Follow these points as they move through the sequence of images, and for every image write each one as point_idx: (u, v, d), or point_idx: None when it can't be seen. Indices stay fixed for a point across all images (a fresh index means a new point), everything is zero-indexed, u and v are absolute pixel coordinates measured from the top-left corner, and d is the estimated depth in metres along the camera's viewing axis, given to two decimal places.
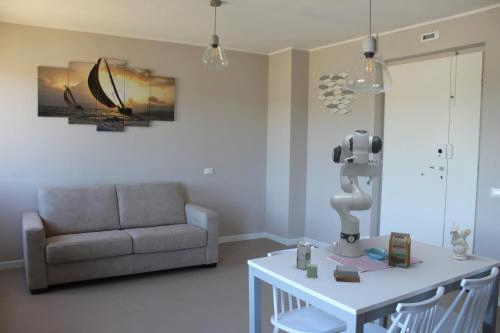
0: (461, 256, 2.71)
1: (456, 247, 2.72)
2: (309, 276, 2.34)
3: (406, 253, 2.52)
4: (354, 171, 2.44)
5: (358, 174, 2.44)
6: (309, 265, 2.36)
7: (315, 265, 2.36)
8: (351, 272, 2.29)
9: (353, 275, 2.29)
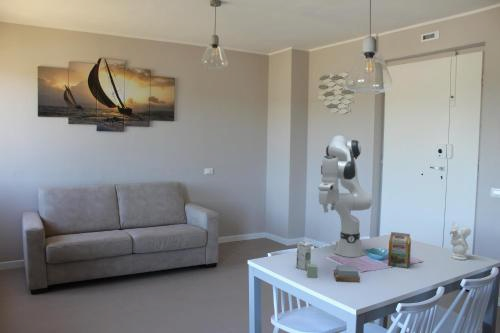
0: (461, 256, 2.71)
1: (456, 247, 2.72)
2: (309, 276, 2.34)
3: (406, 253, 2.52)
4: (330, 198, 2.35)
5: (332, 201, 2.37)
6: (309, 265, 2.36)
7: (315, 265, 2.36)
8: (351, 272, 2.29)
9: (353, 275, 2.29)
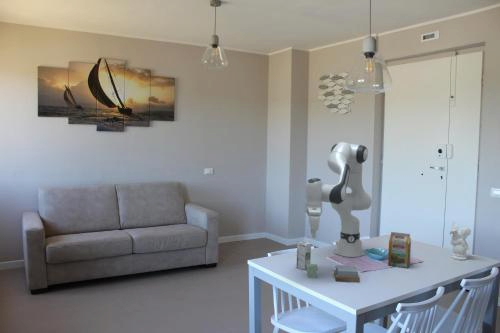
0: (461, 256, 2.71)
1: (456, 247, 2.72)
2: (309, 276, 2.34)
3: (406, 253, 2.52)
4: None
5: None
6: (309, 265, 2.36)
7: (315, 265, 2.36)
8: (351, 272, 2.29)
9: (353, 275, 2.29)
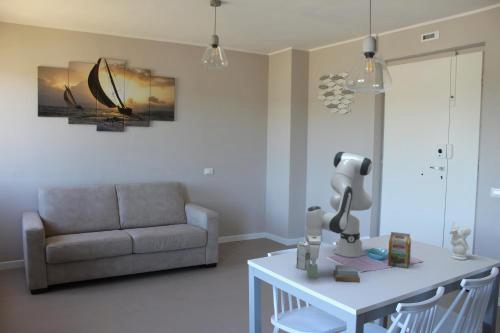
0: (461, 256, 2.71)
1: (456, 247, 2.72)
2: (309, 276, 2.34)
3: (406, 253, 2.52)
4: None
5: None
6: (309, 265, 2.36)
7: (315, 265, 2.36)
8: (351, 272, 2.29)
9: (353, 275, 2.29)
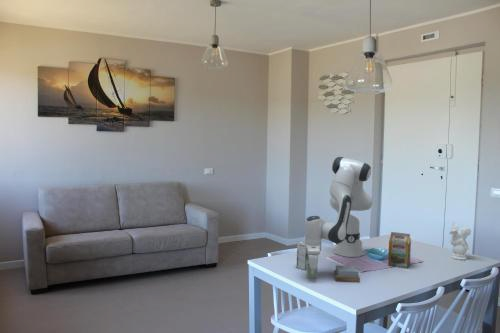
0: (461, 256, 2.71)
1: (456, 247, 2.72)
2: (309, 276, 2.34)
3: (406, 253, 2.52)
4: None
5: None
6: (309, 265, 2.36)
7: None
8: (351, 272, 2.29)
9: (353, 275, 2.29)
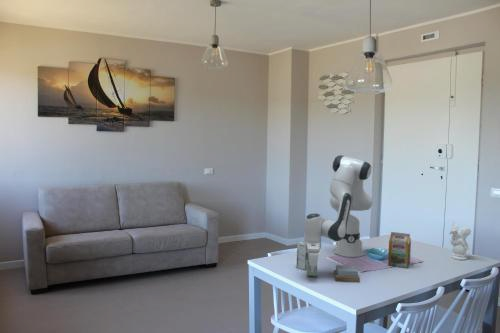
0: (461, 256, 2.71)
1: (456, 247, 2.72)
2: (309, 273, 2.34)
3: (406, 253, 2.52)
4: None
5: None
6: None
7: None
8: (351, 272, 2.29)
9: (353, 275, 2.29)
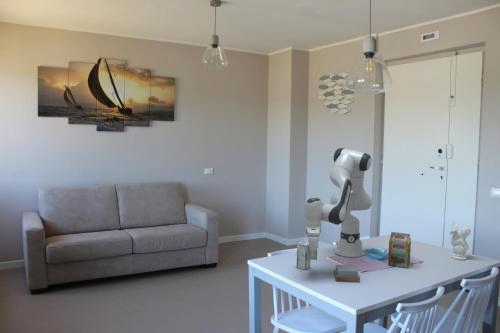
0: (461, 256, 2.71)
1: (456, 247, 2.72)
2: (309, 258, 2.34)
3: (406, 253, 2.52)
4: None
5: None
6: None
7: None
8: (351, 272, 2.29)
9: (353, 275, 2.29)
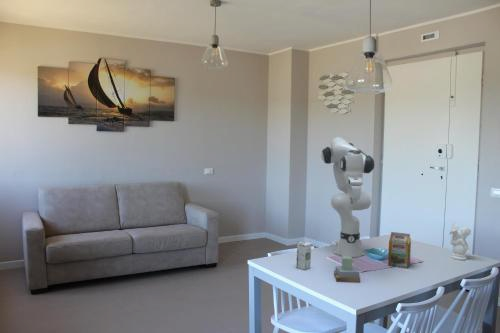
0: (461, 256, 2.71)
1: (456, 247, 2.72)
2: (344, 268, 2.32)
3: (406, 253, 2.52)
4: None
5: None
6: (344, 257, 2.33)
7: (350, 257, 2.33)
8: (352, 272, 2.29)
9: (354, 275, 2.29)
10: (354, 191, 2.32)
